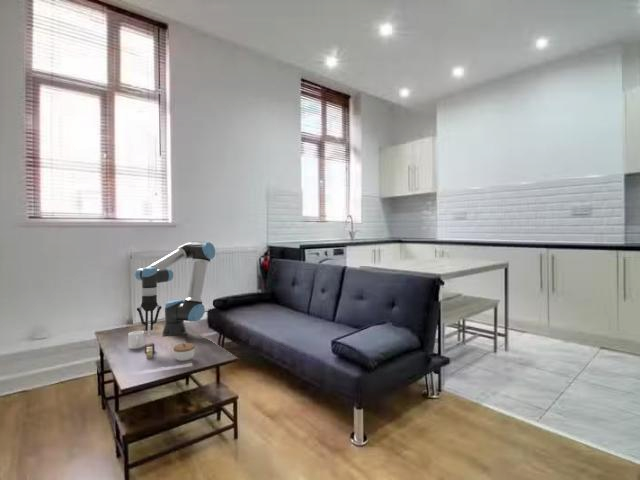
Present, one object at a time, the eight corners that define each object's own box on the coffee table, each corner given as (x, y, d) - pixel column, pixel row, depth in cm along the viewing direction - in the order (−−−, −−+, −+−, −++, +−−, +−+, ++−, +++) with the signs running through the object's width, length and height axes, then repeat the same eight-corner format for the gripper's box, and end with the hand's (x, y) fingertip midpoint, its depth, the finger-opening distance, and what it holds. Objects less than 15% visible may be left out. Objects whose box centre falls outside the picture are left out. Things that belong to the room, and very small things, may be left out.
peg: (144, 350, 195) (144, 343, 195) (154, 349, 198) (154, 342, 197) (144, 359, 183) (144, 351, 183) (154, 357, 185) (154, 350, 185)
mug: (129, 354, 194) (129, 337, 194) (128, 348, 204) (128, 331, 204) (144, 351, 198) (144, 335, 198) (143, 345, 208) (143, 329, 208)
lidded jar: (177, 357, 191) (177, 340, 190) (197, 356, 192) (197, 340, 191) (170, 364, 180) (170, 347, 180) (191, 364, 181) (191, 346, 181)
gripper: (161, 293, 200) (161, 333, 200) (136, 294, 194) (136, 335, 194) (162, 295, 193) (161, 336, 193) (136, 296, 187) (135, 339, 187)
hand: (149, 336), depth 194 cm, fingers closed
